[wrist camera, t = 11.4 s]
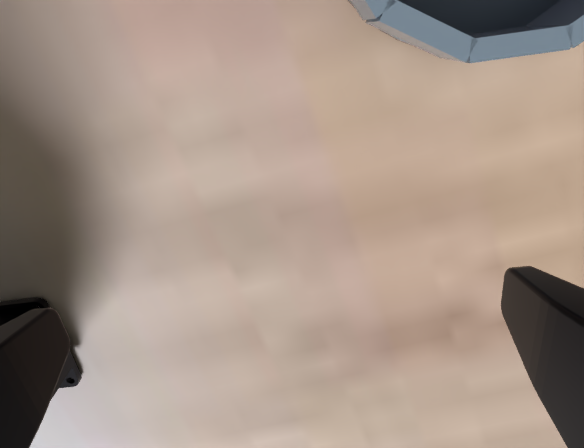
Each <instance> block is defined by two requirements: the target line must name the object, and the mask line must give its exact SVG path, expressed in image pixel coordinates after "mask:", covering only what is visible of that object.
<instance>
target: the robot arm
mask: <svg viewBox="0 0 584 448" xmlns="http://www.w3.org/2000/svg"><path fill="white" fill-rule="evenodd" d="M37 306H39V307H40V308H38V307H37ZM501 310H502V314H503V317H504V319H505V322H506V324H507V326H508V329H509V331H510V333H511V336H512V338H513V340H514V343H515V345H516V347H517V350H518V352H519V354H520V357H521V359H522V361H523V364H524V366H525V369H526V371H527V373H528V376H529V378H530V380H531V382H532V384H533V386H534V388H535V390H536V392H537V394H538V396H539V398H540V400H541V401H542V403H543V405H544V407H545V408H546V410H547V412H548V414H549V415H550V417H551V419H552V421H553V423H554V424H555V426H556V428H557V430H558V431H559V433H560V435H561V437H562V438H563V440H564V442H565V444H566V446H567V447H568V448H584V288H581V287H579V286H576V285H574V284H572V283H569V282H567V281H565V280H562V279H560V278H558V277H555V276H553V275H550V274H548V273H546V272H543V271H541V270H539V269H536V268H534V267H531V266H523V267H512V268H509V269H507V270H506V272H505V275H504V283H503V291H502V299H501ZM72 378H73V379H72ZM81 378H82V377H81V374H80V371H79V369H78V367H77V365H76V363H75V361H74V358H73V356H72V354H71V352H70V338H69V336H68V333H67V331H66V329H65V327H64V325H63V322H62V320H61V318H60V316H59V314H58V312H57V311H56V310H55V309H53V308H50V306H49V304H48V303H47V301H45V300H44V299H42V298H30V299H21V300H12V301H3V302H0V448H29V447H30V445H31V443H32V441H33V439H34V437H35V435H36V433H37V431H38V429H39V427H40V424H41V422H42V420H43V418H44V415H45V413H46V410H47V408H48V405H49V403H50V401H51V399H52V397H53V396H54V394H55V393H56V391H57V390H58V388H64V387H73V386H76V385H78V383H79V382H80V380H81Z"/></svg>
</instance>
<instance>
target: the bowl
mask: <svg viewBox="0 0 584 448" xmlns="http://www.w3.org/2000/svg"><path fill="white" fill-rule="evenodd" d="M348 1H349V2H350V3H351V4H352V5H353V7H354V8H355V9H356V10H357V12H358V13H359V15H360V17H361V18H362V20H366V22H365V23H367V24H369V25H371V26H374V27H376V28H378V29H379V30H381V31H383V32H384V33H386V34H388V35H390V36H391V37H393V38H395V39H397V40H399V41H402V42H404V43H407V44H409V45H412V46H415V47H418V48H420V49H422V50H424V51H426V52H428V53H430V54H433V55H435V56H437V57H439V58H444V59H449V60H455V61H460V62H465V63H474V62H482V61H489V60H496V59H503V58H511V57H518V56H525V55H532V54H540V53H547V52H554V51H561V50H569V49H570V48H574V47H576V46H577V45H579V44H580V43H582V42H583V41H584V0H348Z"/></svg>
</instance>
